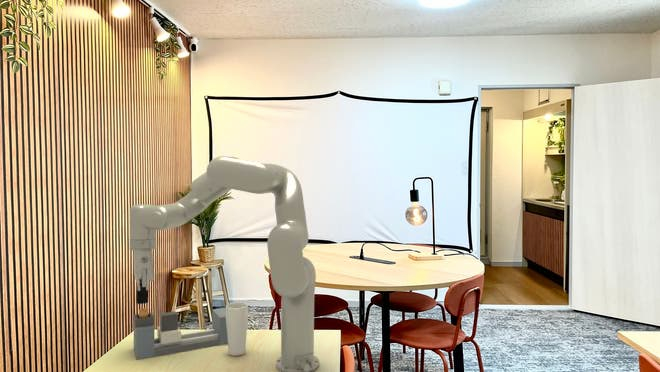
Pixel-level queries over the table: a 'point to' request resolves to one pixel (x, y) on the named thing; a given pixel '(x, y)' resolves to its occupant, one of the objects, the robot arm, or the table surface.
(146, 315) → the button
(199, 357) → the table surface
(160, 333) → the carriage
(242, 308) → the drinking glass
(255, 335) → the table surface
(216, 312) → the rail track
